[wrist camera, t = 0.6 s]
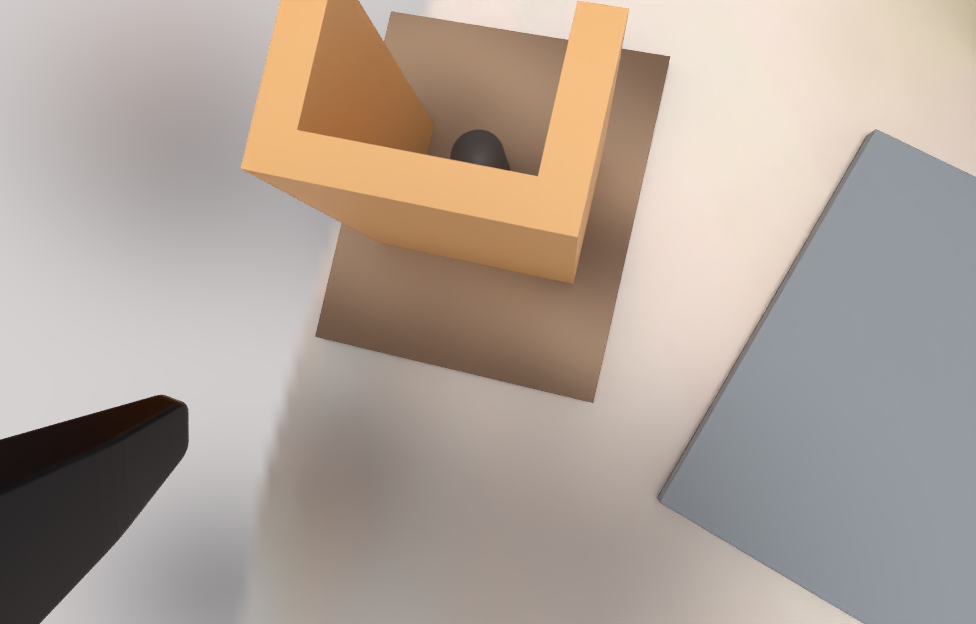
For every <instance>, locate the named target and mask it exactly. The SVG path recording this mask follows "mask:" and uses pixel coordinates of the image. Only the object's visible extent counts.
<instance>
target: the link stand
mask: <svg viewBox="0 0 976 624" xmlns="http://www.w3.org/2000/svg"><path fill="white" fill-rule="evenodd" d="M568 41H569V40H565V39H558V38H552V37H546V36H540V35H534V34H527V33H521V32H515V31H509V30H503V29H496V28H490V27H484V26H478V25H472V24H466V23H459V22H453V21H447V20H441V19H435V18H428V17H422V16H416V15H410V14H403V13H397V12H391V15H390V19H389V23H388V27H387V31H386V36H385V40H384V43H385V45H386V46H387V48H388V50H389V51H390V53H391V55H392V56H393V58H394V60H395V61H396V63H397V64H398V66H399V68H400V69H401V71H402V73H403V74H404V76H405V78H406V79H407V81H408V82H409V84H410V86H411V87H412V89H413V91H414V92H415V94H416V96H417V97H418V99H419V101H420V102H421V104H422V105H423V107H424V109H425V110H426V112H427V114H428V115H429V117H430V119H431V120H432V122H433V123H434V128H433V132H432V136H431V141H430V145H429V149H428V154H427V155H430V156H435V157H440V158H445V159H450V160H456V161H461V162H466V163H471V164H476V165H482V166H487V167H492V168H497V169H502V170H508V171H513V172H518V173H523V174H528V175H534V176H538V173H539V169H540V164H541V160H542V156H543V151H544V147H545V142H546V138H547V134H548V129H549V125H550V120H551V116H552V112H553V107H554V103H555V98H556V94H557V90H558V85H559V81H560V76H561V72H562V67H563V63H564V59H565V54H566V50H567V45H568ZM669 60H670V56H664V55H657V54H651V53H645V52H639V51H633V50H626V49H622V51H621V56H620V62H619V67H618V73H617V78H616V84H615V89H614V95H613V100H612V106H611V111H610V117H609V122H608V128H607V133H606V139H605V144H604V149H603V155H602V160H601V164H600V168H599V173H598V177H597V182H596V186H595V191H594V195H593V200H592V204H591V209H590V213H589V217H588V222H587V226H586V231H585V235H584V240H583V244H582V249H581V253H580V258H579V262H578V266H577V271H576V275H575V280H574V284H570V283H565V282H560V281H556V280H551V279H546V278H542V277H537V276H532V275H528V274H523V273H518V272H514V271H509V270H504V269H500V268H495V267H490V266H486V265H481V264H476V263H472V262H467V261H462V260H458V259H453V258H448V257H444V256H439V255H434V254H430V253H425V252H420V251H416V250H411V249H406V248H402V247H397V246H392V245H388V244H383V243H379V242H377V241H375V240H373V239H371V238H369V237H367V236H366V235H364V234H362V233H360V232H358V231H356V230H354V229H352V228H351V227H349V226H347V225H345V224H343V223H342V224H341V229H340V233H339V237H338V242H337V246H336V250H335V254H334V259H333V263H332V267H331V272H330V276H329V280H328V284H327V289H326V293H325V297H324V302H323V306H322V310H321V314H320V319H319V323H318V327H317V332H316V336H315V337H320V338H324V339H328V340H332V341H336V342H341V343H345V344H349V345H353V346H357V347H362V348H366V349H370V350H374V351H378V352H382V353H387V354H391V355H395V356H399V357H403V358H408V359H412V360H416V361H420V362H424V363H429V364H433V365H437V366H441V367H445V368H449V369H454V370H458V371H462V372H466V373H470V374H475V375H479V376H483V377H487V378H491V379H496V380H500V381H504V382H508V383H512V384H516V385H521V386H525V387H529V388H533V389H537V390H542V391H546V392H550V393H554V394H558V395H563V396H567V397H571V398H575V399H579V400H583V401H588V402H592V403H593V401H594V397H595V392H596V388H597V383H598V379H599V374H600V370H601V365H602V361H603V356H604V352H605V347H606V343H607V338H608V334H609V329H610V325H611V320H612V316H613V311H614V307H615V302H616V298H617V293H618V289H619V284H620V280H621V276H622V271H623V267H624V262H625V258H626V253H627V249H628V244H629V240H630V235H631V231H632V226H633V222H634V217H635V213H636V208H637V204H638V199H639V195H640V190H641V186H642V181H643V177H644V172H645V168H646V163H647V159H648V154H649V150H650V145H651V141H652V137H653V132H654V128H655V123H656V119H657V114H658V110H659V105H660V101H661V96H662V92H663V87H664V83H665V78H666V74H667V69H668V65H669Z"/></svg>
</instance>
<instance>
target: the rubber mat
mask: <svg viewBox="0 0 976 624" xmlns="http://www.w3.org/2000/svg"><path fill="white" fill-rule="evenodd" d="M658 500H659V501H660V503H662V504H664V505H665V506H667V507H669V508H670V509H672V510H674V511H675V512H677V513H679V514H680V515H682V516H684V517H686V518H687V519H689V520H691V521H692V522H694V523H696V524H697V525H699V526H701V527H702V528H704V529H706V530H707V531H709V532H711V533H712V534H714V535H716V536H717V537H719V538H721V539H723V540H724V541H726V542H728V543H729V544H731V545H733V546H734V547H736V548H738V549H739V550H741V551H743V552H744V553H746V554H748V555H749V556H751V557H753V558H754V559H756V560H758V561H760V562H761V563H763V564H765V565H766V566H768V567H770V568H771V569H773V570H775V571H776V572H778V573H780V574H781V575H783V576H785V577H786V578H788V579H790V580H791V581H793V582H795V583H797V584H798V585H800V586H802V587H803V588H805V589H807V590H808V591H810V592H812V593H813V594H815V595H817V596H818V597H820V598H822V599H823V600H825V601H827V602H828V603H830V604H832V605H834V606H835V607H837V608H839V609H840V610H842V611H844V612H845V613H847V614H849V615H850V616H852V617H854V618H855V619H857V620H859V621H860V622H862V623H864V624H976V177H974V176H972V175H970V174H968V173H966V172H964V171H962V170H960V169H958V168H956V167H954V166H952V165H950V164H947V163H945V162H943V161H941V160H939V159H937V158H935V157H933V156H931V155H929V154H927V153H925V152H923V151H920V150H918V149H916V148H914V147H912V146H910V145H908V144H906V143H904V142H902V141H900V140H898V139H895V138H893V137H891V136H889V135H887V134H885V133H883V132H881V131H879V130H877V129H876V130H874V131H873V132H872V133H870V134H869V135H867V137H866V139H865V140H864V142H863V144H862V146H861V147H860V149H859V151H858V153H857V154H856V156H855V158H854V159H853V161H852V163H851V165H850V166H849V168H848V170H847V172H846V173H845V175H844V177H843V178H842V180H841V182H840V184H839V185H838V187H837V189H836V191H835V192H834V194H833V196H832V197H831V199H830V201H829V203H828V204H827V206H826V208H825V210H824V211H823V213H822V215H821V216H820V218H819V220H818V222H817V223H816V225H815V227H814V229H813V230H812V232H811V234H810V235H809V237H808V239H807V241H806V242H805V244H804V246H803V248H802V249H801V251H800V253H799V254H798V256H797V258H796V260H795V261H794V263H793V265H792V267H791V268H790V270H789V272H788V273H787V275H786V277H785V279H784V280H783V282H782V284H781V286H780V287H779V289H778V291H777V292H776V294H775V296H774V298H773V299H772V301H771V303H770V305H769V306H768V308H767V310H766V311H765V313H764V315H763V317H762V318H761V320H760V322H759V324H758V325H757V327H756V329H755V330H754V332H753V334H752V336H751V337H750V339H749V341H748V343H747V344H746V346H745V348H744V349H743V351H742V353H741V355H740V356H739V358H738V360H737V362H736V363H735V365H734V367H733V368H732V370H731V372H730V374H729V375H728V377H727V379H726V381H725V382H724V384H723V386H722V387H721V389H720V391H719V393H718V394H717V396H716V398H715V400H714V401H713V403H712V405H711V406H710V408H709V410H708V412H707V413H706V415H705V417H704V419H703V420H702V422H701V424H700V425H699V427H698V429H697V431H696V432H695V434H694V436H693V438H692V439H691V441H690V443H689V444H688V446H687V448H686V450H685V451H684V453H683V455H682V457H681V458H680V460H679V462H678V463H677V465H676V467H675V469H674V470H673V472H672V474H671V476H670V477H669V479H668V481H667V482H666V484H665V486H664V488H663V489H662V491H661V493H660V495H659V496H658Z"/></svg>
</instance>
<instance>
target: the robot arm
mask: <svg viewBox="0 0 976 624" xmlns="http://www.w3.org/2000/svg"><path fill="white" fill-rule="evenodd" d="M188 433H189V432H188V408H187V405H186V404H185V403H184V402H182V401H179V400H176V399H174V398H171V397H168V396H166V395H157V396H153V397H150V398H146V399H142V400H139V401H136V402H132V403H128V404H125V405H121V406H118V407H114V408H111V409H107V410H104V411H100V412H96V413H93V414H89V415H86V416H82V417H79V418H75V419H72V420H68V421H65V422H61V423H57V424H54V425H50V426H47V427H43V428H40V429H36V430H33V431H29V432H26V433H22V434H19V435H15V436H11V437H8V438H4V439H1V440H0V624H40V623H41V622H42V621H43V619H45V617H46V616H47V615H48V614H49V613H50V612H51V611H52V610H53V609H54V608H55V607H56V606H57V605H58V604H59V602H61V601H62V599H63V598H64V597H65V596H66V595H67V594H68V593H69V592H70V591H71V590H72V589H73V588H74V587H75V586H76V585H77V584H78V582H80V580H81V579H82V578H83V577H84V576H85V575H86V574H87V573H88V572H89V571H90V570H91V569H92V567H94V566H95V564H97V562H98V561H99V560H100V559H101V558H102V557H103V556H104V555H105V554H106V553H107V552H108V551H109V550H110V549H111V547H112V546H113V545H114V544H115V543H116V542H117V541H118V540H119V538H120V537H121V536H122V535H123V534H124V532H125V531H126V530H127V529H128V528H129V526H130V525H131V524H132V523H133V521H134V520H135V519H136V517H137V516H138V515H139V514H140V512H141V511H142V510H143V509H144V507H145V506H146V505H147V503H148V502H149V501H150V499H151V498H152V497H153V496H154V494H155V493H156V491H157V490H158V489H159V488H160V487H161V485H162V484H163V483H164V481H165V480H166V479H167V478H168V476H169V475H170V473H171V472H172V471H173V470H174V468H175V467H176V466H177V465H178V463H179V462H180V461H181V459H182V458H183V456H184V455H185V453H186V450H187V447H188V442H189V435H188Z"/></svg>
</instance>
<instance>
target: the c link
mask: <svg viewBox="0 0 976 624" xmlns="http://www.w3.org/2000/svg"><path fill="white" fill-rule="evenodd" d="M628 12H629V9H628V8H621V7H615V6H608V5H602V4H595V3H589V2H582V1H577V6H576V10H575V15H574V19H573V23H572V28H571V32H570V37H569V41H568V45H567V50H566V54H565V59H564V63H563V67H562V72H561V76H560V81H559V85H558V90H557V94H556V98H555V103H554V107H553V112H552V116H551V120H550V125H549V129H548V134H547V138H546V142H545V147H544V151H543V156H542V160H541V164H540V169H539V173H538V176H534V175H528V174H523V173H518V172H513V171H508V170H502V169H497V168H492V167H487V166H482V165H476V164H471V163H466V162H461V161H456V160H450V159H445V158H440V157H435V156H430V155H427V154H428V149H429V145H430V141H431V136H432V132H433V128H434V123H433V122H432V120H431V119H430V117H429V115H428V114H427V112H426V110H425V109H424V107H423V105H422V104H421V102H420V101H419V99H418V97H417V96H416V94H415V92H414V91H413V89H412V87H411V86H410V84H409V82H408V81H407V79H406V78H405V76H404V74H403V73H402V71H401V69H400V68H399V66H398V64H397V63H396V61H395V60H394V58H393V56H392V55H391V53H390V51H389V50H388V48H387V46H386V45H385V43H384V42H383V40H382V38H381V37H380V35H379V33H378V32H377V30H376V28H375V27H374V25H373V24H372V22H371V20H370V19H369V17H368V15H367V14H366V12H365V11H364V9H363V7H362V6H361V4H360V2H359V1H358V0H280V5H279V9H278V13H277V18H276V22H275V26H274V30H273V35H272V39H271V43H270V47H269V51H268V55H267V60H266V64H265V68H264V72H263V77H262V81H261V85H260V89H259V93H258V97H257V102H256V106H255V110H254V114H253V119H252V123H251V127H250V131H249V135H248V140H247V144H246V148H245V152H244V157H243V161H242V165H241V169H242V170H244V171H246V172H248V173H250V174H252V175H254V176H255V177H257V178H259V179H261V180H263V181H265V182H267V183H269V184H270V185H272V186H274V187H276V188H278V189H280V190H282V191H283V192H285V193H287V194H289V195H291V196H293V197H295V198H297V199H298V200H300V201H302V202H304V203H306V204H308V205H310V206H312V207H313V208H315V209H317V210H319V211H321V212H323V213H324V214H326V215H328V216H330V217H332V218H334V219H336V220H338V221H339V222H341V223H343V224H345V225H347V226H349V227H351V228H352V229H354V230H356V231H358V232H360V233H362V234H364V235H366V236H367V237H369V238H371V239H373V240H375V241H377V242H379V243H383V244H388V245H392V246H397V247H402V248H406V249H411V250H416V251H420V252H425V253H430V254H434V255H439V256H444V257H448V258H453V259H458V260H462V261H467V262H472V263H476V264H481V265H486V266H490V267H495V268H500V269H504V270H509V271H514V272H518V273H523V274H528V275H532V276H537V277H542V278H546V279H551V280H556V281H560V282H565V283H570V284H574V280H575V275H576V271H577V266H578V262H579V258H580V253H581V249H582V244H583V240H584V235H585V231H586V226H587V222H588V217H589V213H590V209H591V204H592V200H593V195H594V191H595V186H596V182H597V177H598V173H599V168H600V164H601V160H602V155H603V149H604V144H605V139H606V133H607V128H608V122H609V117H610V111H611V106H612V100H613V95H614V89H615V84H616V78H617V73H618V67H619V62H620V56H621V51H622V45H623V40H624V34H625V29H626V23H627V18H628Z"/></svg>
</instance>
